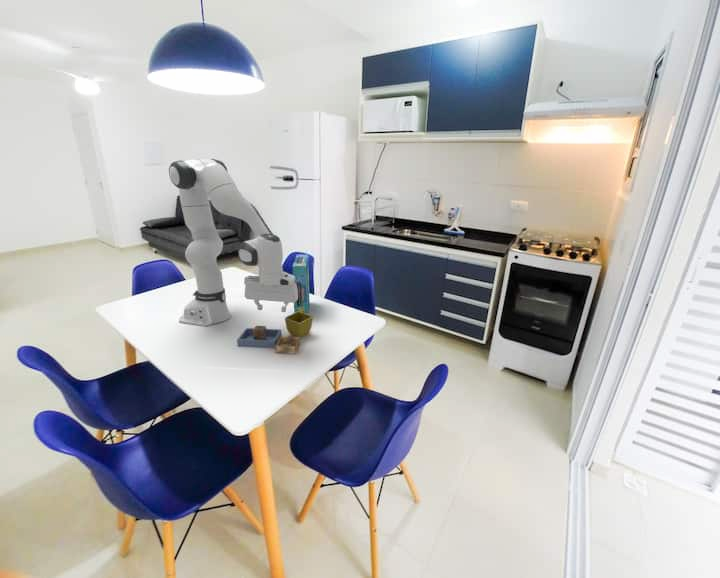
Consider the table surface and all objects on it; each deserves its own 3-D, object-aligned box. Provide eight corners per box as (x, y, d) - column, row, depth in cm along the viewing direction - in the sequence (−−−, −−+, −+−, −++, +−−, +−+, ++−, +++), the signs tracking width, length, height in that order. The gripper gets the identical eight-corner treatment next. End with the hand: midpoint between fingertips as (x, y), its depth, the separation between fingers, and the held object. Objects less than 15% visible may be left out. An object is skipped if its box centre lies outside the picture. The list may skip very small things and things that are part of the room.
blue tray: (237, 347, 133) (237, 339, 132) (247, 335, 143) (246, 328, 142) (275, 348, 133) (274, 341, 132) (281, 336, 143) (281, 329, 141)
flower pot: (313, 334, 146) (313, 315, 142) (300, 342, 139) (299, 323, 135) (298, 329, 150) (298, 311, 147) (285, 336, 143) (284, 317, 140)
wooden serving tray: (275, 354, 129) (275, 346, 128) (281, 343, 137) (280, 336, 136) (296, 355, 129) (296, 347, 128) (300, 344, 137) (300, 337, 136)
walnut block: (254, 343, 136) (252, 330, 134) (257, 338, 140) (256, 325, 138) (263, 343, 136) (262, 330, 134) (266, 338, 140) (265, 326, 138)
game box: (297, 303, 178) (295, 254, 169) (309, 303, 179) (308, 254, 169) (294, 319, 159) (291, 265, 149) (307, 319, 159) (305, 265, 150)
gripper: (240, 277, 122) (242, 311, 127) (295, 282, 122) (295, 315, 127) (246, 272, 128) (248, 305, 133) (299, 276, 128) (298, 309, 133)
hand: (271, 310), depth 130 cm, fingers open, 8 cm apart
